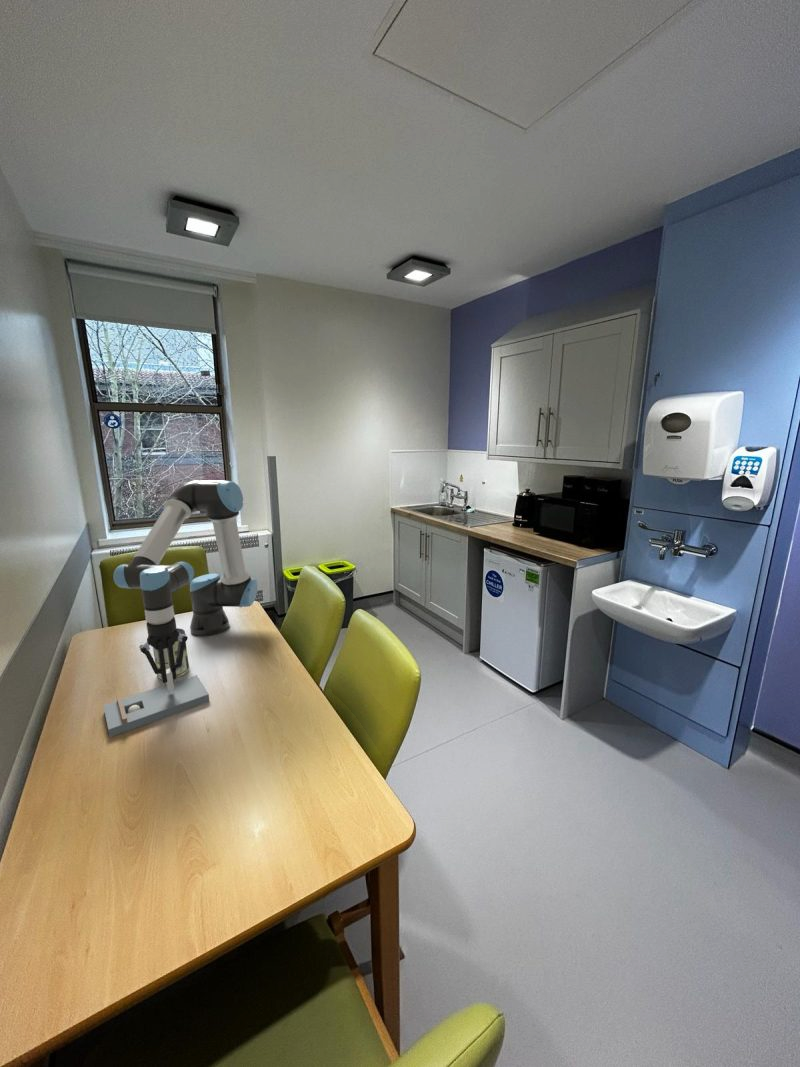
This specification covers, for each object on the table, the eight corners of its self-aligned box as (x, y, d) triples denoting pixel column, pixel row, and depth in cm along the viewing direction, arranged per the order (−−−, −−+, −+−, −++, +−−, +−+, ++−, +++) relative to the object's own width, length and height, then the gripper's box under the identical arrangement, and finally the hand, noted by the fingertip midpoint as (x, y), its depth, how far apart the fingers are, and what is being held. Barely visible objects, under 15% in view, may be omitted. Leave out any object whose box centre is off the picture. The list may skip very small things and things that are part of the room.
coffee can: (168, 663, 155) (163, 627, 152) (195, 664, 154) (191, 628, 151) (149, 679, 145) (143, 641, 142) (178, 680, 144) (173, 642, 141)
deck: (197, 681, 144) (196, 670, 143) (209, 701, 133) (208, 689, 132) (104, 712, 128) (102, 700, 127) (109, 737, 117) (107, 724, 117)
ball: (131, 701, 127) (124, 711, 126) (133, 706, 124) (126, 717, 124) (141, 704, 129) (134, 714, 128) (144, 709, 126) (137, 719, 126)
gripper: (181, 609, 134) (190, 677, 139) (133, 621, 126) (144, 692, 131) (187, 617, 128) (196, 687, 134) (137, 630, 120) (149, 703, 126)
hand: (170, 689), depth 133 cm, fingers closed
